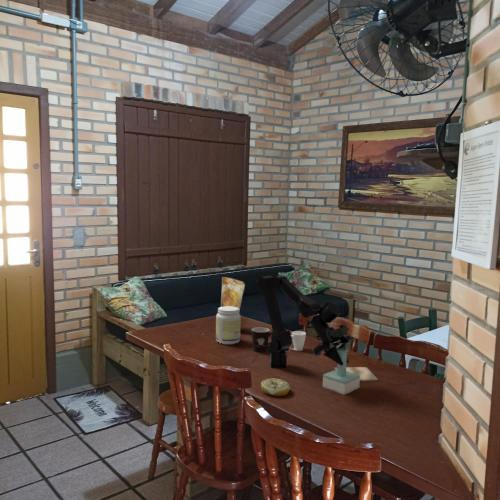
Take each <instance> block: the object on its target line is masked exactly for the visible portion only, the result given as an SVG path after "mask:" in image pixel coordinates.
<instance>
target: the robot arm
mask: <svg viewBox="0 0 500 500" xmlns="http://www.w3.org/2000/svg"><path fill="white" fill-rule="evenodd" d="M256 287H257V289H258V291H259V293H260V294H261V296H263V298H264V300H265V305H266V309H267V313H268V316H269V320H270V324H271V328H272V331H271V333H272V334H271V335H270V338H271V341H270V342H272V343H271V344H269V345H268V346H267V351H266V352H267V353H269V355H270V356H269V366H270V368H275V369H276V368H283V369H284V368H285V369H286V368H287V366H286V365H287V362H288V358H287V357H288V356H287V352H288V351H289V350H290V348H291V346H292V344H293V337H291V335H292V332H291V331H290V330H289V329H288V330H287V329H286V328H285V326H284V323H283V319H282V318H283V317H282V314H281V309H280V308H279V307H280V306H279V302H278V299H277V291H278V288H280V289H281V291H283V293H285V295H286V296H288V297H289V299H290V300H291V301H292V302H294V304H295V305H296V308H297V310H298V313H300V315H301V316H302V317H303V318H308V319H307V323H306V327H312V328H313V329H314V331H315V333H316V334H317V336H316V339H317V340H318V339H320V340H321V341H320V343H319V344H317V345H316V346H315V347H314V348H313V350H312V351H313V355H315V357H318V356H320V355H321V354H322V352H324V353H323V354H322V356H323V357H324V356H325V357H327V358H328V359H330V360H332V361H333V362H335V363H336V364H339V365H341V366H342V365H343V362H342V360H341V358H340V356H339V354H338V352H337V350H338V349H341V348H345V349H346V347H347V345H348V343H350V342H351V341H352V340H353V338H352V337H351V335H350V334H349V333H348V332H349V328H348V326H347V325H346V324H345V323H344V324H341V325H340V324H339V327H338V328H335V327H334V326H331V327H330V324H331V323H332V322H334V321H335V320H336V319H337V318H338V317H339V316H340V315H341V314H342V311H341V309H340V307H339V306H338V305H337V304H335V303H333V302H332V301H331V300H330V301H326V302H325V304H324V305H323V306H322V305H321V304H320V305H319V303H318V302H317V301H315V300H314V299H313V298H311V297H308V296H306V295H304V294H303V292H301V290H299V289H298V288H297V287H296V286H295V285H294V283H292V282H291V281H290V280H289V279H288V277H287V276H286V275H279V276H273V275H266V276H260V277H258V279H257V281H256ZM310 317H311V318H310ZM289 347H290V348H289ZM348 363H350V362H349V357H348V356H347V364H348Z"/></svg>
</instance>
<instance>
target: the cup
mask: <svg viewBox="0 0 500 500" xmlns="http://www.w3.org/2000/svg"><path fill="white" fill-rule="evenodd" d="M291 337H292V344H293V348H292V347H291V346H290V347H289V349H291V350H293V351H298V352H299V351H300V352H302V351H303V348H304V345H305V342H306V337H307V333H306V332H305V331H301V330H295V331H291Z"/></svg>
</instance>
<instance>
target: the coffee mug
mask: <svg viewBox="0 0 500 500" xmlns="http://www.w3.org/2000/svg"><path fill="white" fill-rule="evenodd" d="M271 335H272V332H271V330H270V329H269V328H268V327H260V326H259V327H253V328H251V338H252V339H251V340H252V350H253V351H254V352H255V353H261V354H262V353H266V352H267V346H269V345H270V344H271V343H272V341H270V342H269V338H270V337H271Z"/></svg>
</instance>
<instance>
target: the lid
mask: <svg viewBox="0 0 500 500" xmlns="http://www.w3.org/2000/svg"><path fill="white" fill-rule="evenodd" d="M349 350H350V349H349V348H346V347H345V348H341V349H338V350H337V352H338V354H339V356H340V358H341V360H342V362H343V365H342V366H341V365H339V364H338V363H336V365H337V366H336V367H337V369H336V370H335V369H334V370H331V371H328V372H326V373H323V374H322V378H323V377H326V378H329V379H331V380H334V381H337V382H340V383H343V384H346V383H349V382H351V381H353V380H356V379H358V378H360V375H356V374H353V373H350V372H347V371H346V367H347V366H348V363H347V357H348V353H349Z"/></svg>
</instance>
